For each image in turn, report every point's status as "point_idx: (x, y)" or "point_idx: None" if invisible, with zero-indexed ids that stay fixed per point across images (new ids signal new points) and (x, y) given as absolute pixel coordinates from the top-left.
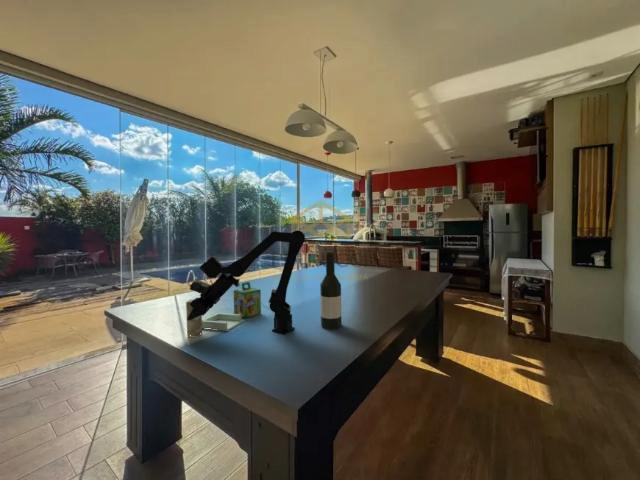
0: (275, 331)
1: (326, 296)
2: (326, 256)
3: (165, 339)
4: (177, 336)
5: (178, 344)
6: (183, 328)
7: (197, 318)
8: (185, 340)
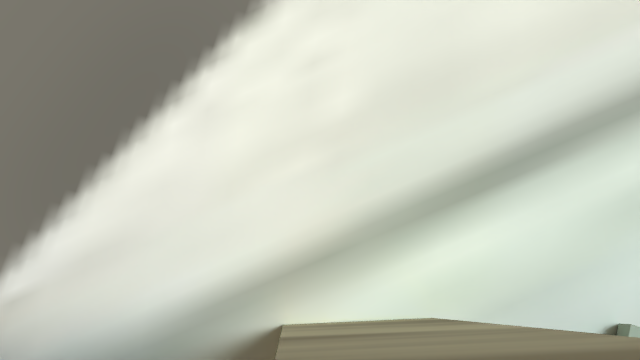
0: None
1: None
2: None
3: (239, 69)
4: (328, 175)
5: (35, 314)
6: (624, 127)
7: None
8: (166, 350)
